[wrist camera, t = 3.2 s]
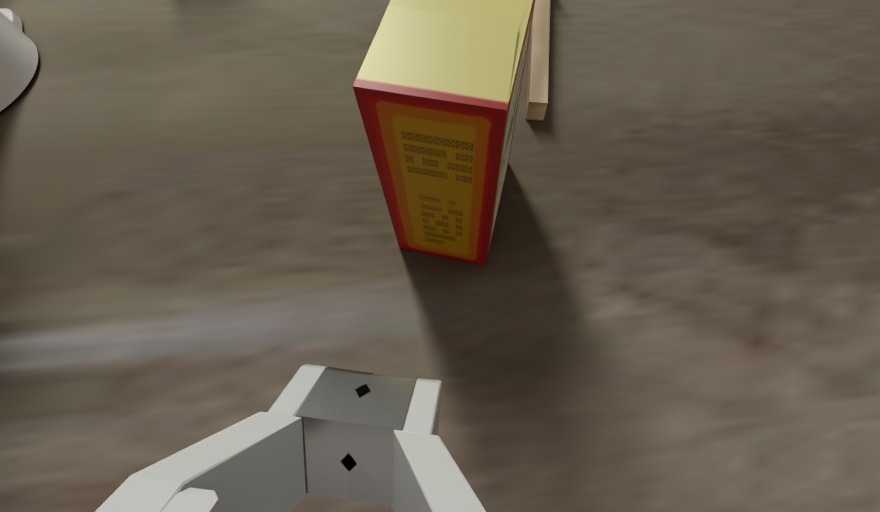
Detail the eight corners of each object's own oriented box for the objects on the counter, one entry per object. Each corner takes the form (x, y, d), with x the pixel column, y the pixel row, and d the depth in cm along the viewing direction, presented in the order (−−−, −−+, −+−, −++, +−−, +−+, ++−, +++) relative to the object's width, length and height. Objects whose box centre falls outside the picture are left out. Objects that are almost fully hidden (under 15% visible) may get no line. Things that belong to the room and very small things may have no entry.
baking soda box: (431, 149, 36) (411, -58, 21) (508, 162, 35) (542, -44, 21) (399, 248, 32) (350, 79, 18) (485, 266, 31) (507, 102, 17)
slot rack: (394, 110, 38) (388, 84, 35) (422, -20, 45) (420, -50, 43) (543, 120, 37) (550, 93, 34) (547, -15, 44) (553, -46, 41)
